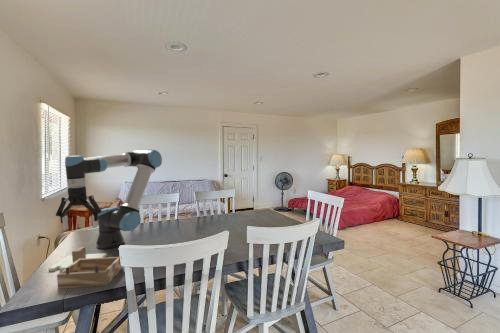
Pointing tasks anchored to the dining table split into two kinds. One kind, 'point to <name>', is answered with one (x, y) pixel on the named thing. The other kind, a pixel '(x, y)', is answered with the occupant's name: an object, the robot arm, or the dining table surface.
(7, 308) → the dining table surface
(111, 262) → the shallow wooden tray
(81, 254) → the white box lid
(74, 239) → the dining table surface
